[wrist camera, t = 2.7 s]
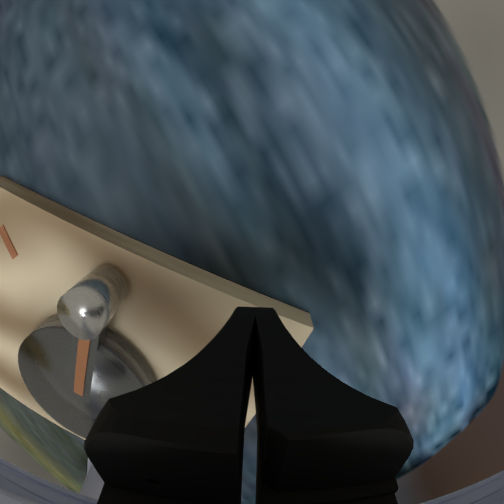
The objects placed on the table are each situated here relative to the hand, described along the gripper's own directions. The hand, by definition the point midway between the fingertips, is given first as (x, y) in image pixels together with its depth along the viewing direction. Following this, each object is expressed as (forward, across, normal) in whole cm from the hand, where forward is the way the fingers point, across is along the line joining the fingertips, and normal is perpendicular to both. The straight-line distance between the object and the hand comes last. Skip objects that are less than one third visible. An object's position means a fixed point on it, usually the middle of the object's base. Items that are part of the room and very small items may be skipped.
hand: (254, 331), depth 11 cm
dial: (+3, +9, +5) cm, 11 cm away
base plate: (+5, +10, +7) cm, 13 cm away
